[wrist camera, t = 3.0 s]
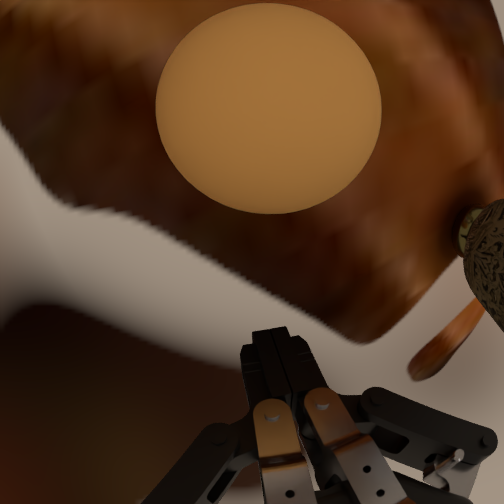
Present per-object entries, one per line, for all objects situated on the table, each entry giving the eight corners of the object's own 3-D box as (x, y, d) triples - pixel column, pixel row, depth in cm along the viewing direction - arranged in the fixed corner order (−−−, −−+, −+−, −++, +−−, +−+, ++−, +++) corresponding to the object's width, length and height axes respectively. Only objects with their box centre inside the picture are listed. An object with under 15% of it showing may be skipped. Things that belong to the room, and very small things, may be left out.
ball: (164, 42, 8) (133, -32, 2) (321, 42, 9) (422, 3, 3) (175, 192, 10) (157, 273, 5) (322, 180, 11) (417, 239, 6)
